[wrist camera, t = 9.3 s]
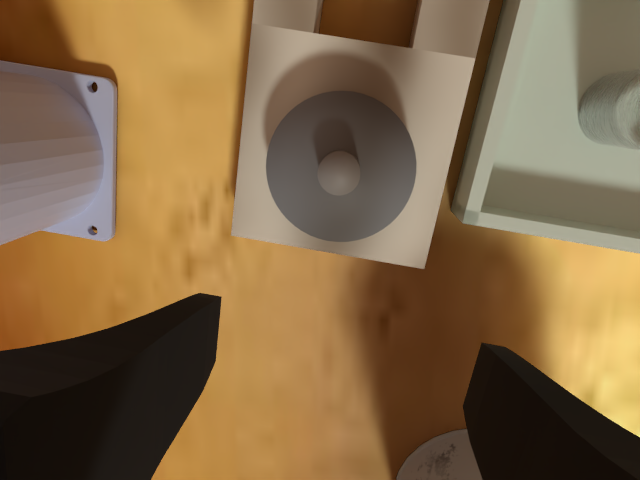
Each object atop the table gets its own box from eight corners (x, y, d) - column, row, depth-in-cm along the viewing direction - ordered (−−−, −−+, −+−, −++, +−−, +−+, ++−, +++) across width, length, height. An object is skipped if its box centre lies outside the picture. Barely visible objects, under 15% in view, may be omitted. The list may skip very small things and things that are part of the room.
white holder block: (242, 224, 22) (212, 253, 17) (282, -159, 17) (256, -254, 13) (418, 255, 22) (433, 293, 17) (508, -127, 17) (563, -213, 12)
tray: (450, 210, 21) (462, 223, 18) (515, -51, 18) (540, -76, 15) (703, 253, 20) (749, 272, 18) (818, -6, 17) (893, -25, 15)
